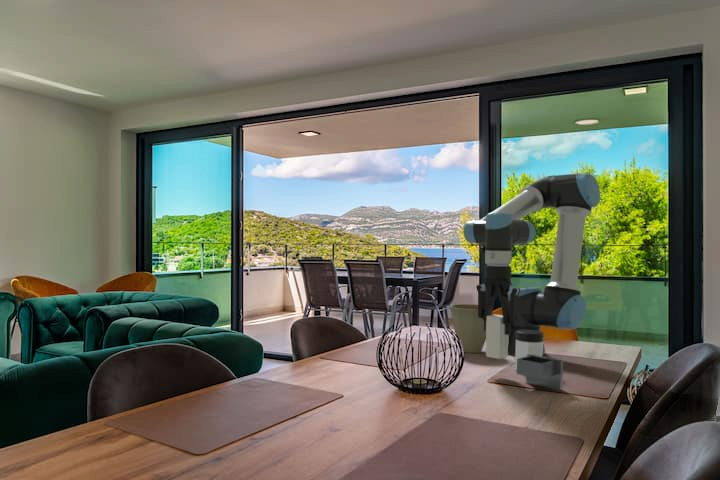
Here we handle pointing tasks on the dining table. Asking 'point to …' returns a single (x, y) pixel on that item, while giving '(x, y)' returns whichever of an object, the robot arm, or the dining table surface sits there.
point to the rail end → (495, 337)
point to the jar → (528, 344)
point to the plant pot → (468, 327)
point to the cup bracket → (541, 371)
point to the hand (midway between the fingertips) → (497, 343)
